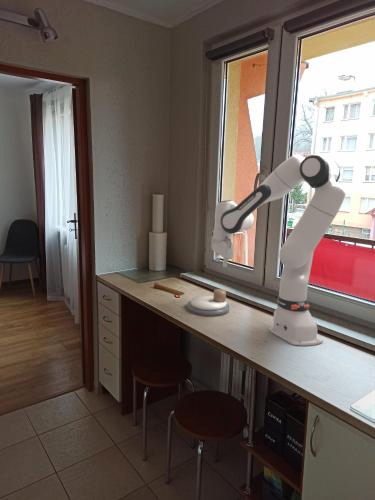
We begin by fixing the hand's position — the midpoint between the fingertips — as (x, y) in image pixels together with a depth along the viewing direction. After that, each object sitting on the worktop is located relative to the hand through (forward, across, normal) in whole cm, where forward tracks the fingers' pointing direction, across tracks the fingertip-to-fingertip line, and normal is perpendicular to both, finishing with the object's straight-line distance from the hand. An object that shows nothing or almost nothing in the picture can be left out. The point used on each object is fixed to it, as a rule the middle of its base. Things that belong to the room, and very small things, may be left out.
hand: (221, 264), depth 175 cm
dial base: (+22, 0, +5) cm, 23 cm away
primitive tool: (+23, +30, +18) cm, 42 cm away
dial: (+20, 0, +5) cm, 20 cm away
